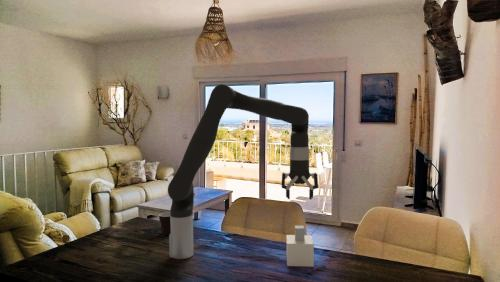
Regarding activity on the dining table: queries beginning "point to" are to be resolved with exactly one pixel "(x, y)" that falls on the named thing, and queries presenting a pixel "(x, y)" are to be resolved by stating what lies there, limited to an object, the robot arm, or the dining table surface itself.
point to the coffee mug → (165, 223)
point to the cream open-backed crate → (300, 248)
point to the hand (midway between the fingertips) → (299, 198)
